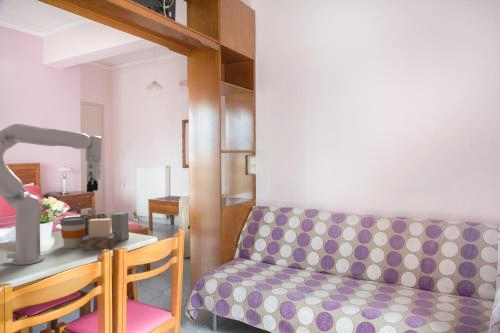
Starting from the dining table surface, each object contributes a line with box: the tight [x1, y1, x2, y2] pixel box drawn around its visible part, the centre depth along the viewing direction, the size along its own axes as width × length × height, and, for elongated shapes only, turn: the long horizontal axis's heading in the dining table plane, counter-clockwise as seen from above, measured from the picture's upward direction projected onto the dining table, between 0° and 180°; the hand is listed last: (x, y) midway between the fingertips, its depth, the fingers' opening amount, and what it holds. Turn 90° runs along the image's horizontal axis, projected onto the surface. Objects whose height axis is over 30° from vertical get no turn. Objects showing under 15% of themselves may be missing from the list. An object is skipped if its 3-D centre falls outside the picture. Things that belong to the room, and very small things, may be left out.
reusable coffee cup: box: [60, 216, 86, 249], centre depth 185 cm, size 13×13×15 cm
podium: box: [82, 232, 117, 251], centre depth 182 cm, size 15×13×6 cm
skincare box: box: [110, 212, 130, 242], centre depth 198 cm, size 8×7×16 cm
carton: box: [89, 217, 112, 237], centre depth 182 cm, size 10×5×9 cm, turn 102°
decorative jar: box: [78, 208, 108, 238], centre depth 198 cm, size 12×12×18 cm
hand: (92, 191), depth 177 cm, fingers open, 9 cm apart
